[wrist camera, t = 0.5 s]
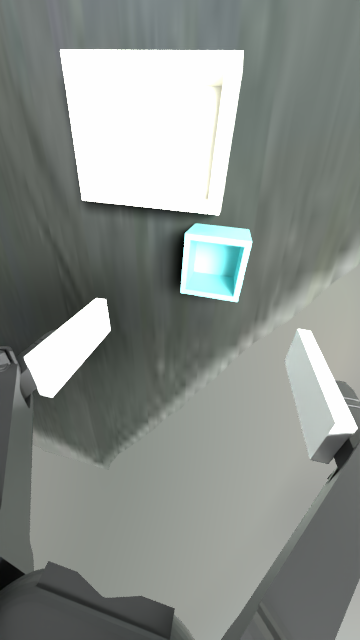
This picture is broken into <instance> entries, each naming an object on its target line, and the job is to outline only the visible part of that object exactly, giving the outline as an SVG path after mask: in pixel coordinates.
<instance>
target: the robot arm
mask: <svg viewBox="0 0 360 640" xmlns="http://www.w3.org/2000/svg"><path fill="white" fill-rule="evenodd" d="M110 331H111V329H110V323H109V316H108V309H107V302H106V299H100V298H96V299H94V300H93V301H92V302H91V303H90V304H88V305H87V306H86V307H85V308H83V309H82V310H81V311H80V312H78V313H77V314H76V315H75V316H74V317H72V318H71V319H70V320H69V321H67V322H66V323H65V324H64V325H62V326H61V327H60V328H59V329H58V330H56V329H54V330H52V331H50V332H48V333H46V334H44V335H43V336H42V337H41V338H39V340H37V341H35V342H34V344H32V345H30V346H29V347H28V348H27V349H25V350H24V351H23V352H21V353H20V354H19V355H18V356H16V357H15V355H14V353H13V350H12V348H10V347H9V346H0V640H195V639H194V638H193V636H192V635H191V633H190V632H189V630H188V629H187V628H186V626H185V625H184V624H183V623H182V621H180V620H179V619H178V618H177V617H176V616H175V615H174V608H172V607H169V606H166V605H164V604H161V603H158V602H156V601H153V600H151V599H148V598H145V597H142V596H133V597H116V598H104V597H102V596H101V595H100V594H99V593H98V592H97V591H96V590H95V589H94V588H93V587H92V586H91V585H90V584H89V583H88V582H87V581H86V580H85V579H84V578H83V577H82V576H81V575H80V574H79V573H78V572H76V571H73V570H71V569H68V568H65V567H63V566H60V565H57V564H55V563H52V562H48V563H47V565H46V567H45V569H40V570H36V571H34V566H33V565H34V564H33V553H32V549H31V545H30V535H29V533H30V500H31V498H30V497H31V468H32V435H33V401H34V397H33V394H32V392H33V391H34V390H35V389H36V388H37V389H38V391H39V393H40V395H43V396H47V397H51V398H53V397H54V395H55V394H56V393H57V392H58V391H59V390H60V388H61V387H62V386H63V385H64V384H65V383H66V382H67V380H68V379H69V378H70V377H71V376H72V375H73V373H74V372H75V371H76V370H77V369H78V368H79V366H80V365H81V364H82V363H83V362H84V361H85V360H86V358H87V357H88V356H89V355H90V354H91V353H92V351H93V350H94V349H95V348H96V347H97V346H98V344H99V343H100V342H101V341H102V340H103V339H104V338H105V336H106V335H107V334H108V333H109V332H110ZM285 364H286V369H287V373H288V377H289V381H290V385H291V388H292V392H293V396H294V400H295V404H296V408H297V412H298V415H299V419H300V423H301V427H302V431H303V435H304V439H305V443H306V447H307V451H308V455H309V459H310V460H313V461H317V462H321V463H325V464H329V463H330V461H331V460H332V459H333V458H334V459H335V462H336V464H337V468H336V469H335V470H334V471H333V473H332V474H331V475H330V476H329V477H328V481H327V482H326V484H325V486H324V487H323V488H322V490H321V492H320V493H319V495H318V496H317V498H316V499H315V501H314V502H313V504H312V505H311V507H310V508H309V510H308V511H307V513H306V514H305V516H304V518H303V519H302V520H301V522H300V524H299V525H298V527H297V528H296V530H295V531H294V533H293V534H292V536H291V537H290V539H289V540H288V542H287V543H286V545H285V546H284V548H283V549H282V551H281V552H280V554H279V555H278V557H277V558H276V560H275V561H274V563H273V565H272V566H271V567H270V569H269V571H268V572H267V574H266V575H265V577H264V578H263V580H262V581H261V583H260V584H259V586H258V587H257V589H256V590H255V592H254V593H253V595H252V596H251V598H250V600H249V601H248V603H247V604H246V606H245V607H244V609H243V610H242V612H241V613H240V615H239V616H238V617H237V619H236V620H235V621H234V623H233V624H232V625H231V626H230V628H229V629H228V630H227V632H226V633H225V635H224V636H223V638H222V639H221V640H335V638H336V636H337V633H338V631H339V628H340V625H341V623H342V621H343V618H344V616H345V613H346V610H347V608H348V606H349V603H350V601H351V598H352V596H353V594H354V591H355V589H356V586H357V584H358V581H359V579H360V402H359V401H358V398H357V396H356V394H355V392H354V391H353V390H352V389H351V388H350V387H349V386H348V385H347V384H346V383H345V382H342V381H336V380H334V378H333V376H332V374H331V372H330V370H329V368H328V366H327V364H326V362H325V360H324V358H323V355H322V353H321V352H320V349H319V347H318V345H317V343H316V341H315V339H314V337H313V335H312V333H311V331H309V330H302V329H297V331H296V334H295V336H294V339H293V341H292V344H291V346H290V349H289V351H288V354H287V356H286V359H285Z"/></svg>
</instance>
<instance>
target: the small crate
mask: <svg viewBox="0 0 360 640" xmlns="http://www.w3.org/2000/svg"><path fill="white" fill-rule="evenodd" d="M251 245H252V239H251V235H250V231H249V229H240V228H232V227H223V226H215V225H206V224H197V223H195V224H194V225H193V226H192V227H191V228H190V229H189V230H188V231H187V232H186V233H185V241H184V253H183V266H182V278H181V290H180V293H184V294H190V295H197V296H203V297H209V298H215V299H221V300H227V301H233V302H238V298H239V294H240V290H241V286H242V282H243V278H244V274H245V269H246V265H247V261H248V257H249V253H250V249H251Z"/></svg>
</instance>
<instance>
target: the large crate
mask: <svg viewBox="0 0 360 640" xmlns="http://www.w3.org/2000/svg"><path fill="white" fill-rule="evenodd" d="M60 52H61V59H62V66H63V73H64V79H65V86H66V93H67V100H68V107H69V114H70V120H71V127H72V134H73V141H74V148H75V155H76V161H77V168H78V175H79V182H80V189H81V196H82V200H84V201H93V202H102V203H112V204H121V205H130V206H139V207H148V208H158V209H167V210H176V211H185V212H194V213H203V214H213V215H219V213H220V212H221V206H222V200H223V193H224V187H225V180H226V174H227V167H228V161H229V155H230V148H231V142H232V135H233V129H234V123H235V116H236V110H237V103H238V97H239V90H240V84H241V78H242V71H243V53H244V51H227V50H60Z"/></svg>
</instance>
